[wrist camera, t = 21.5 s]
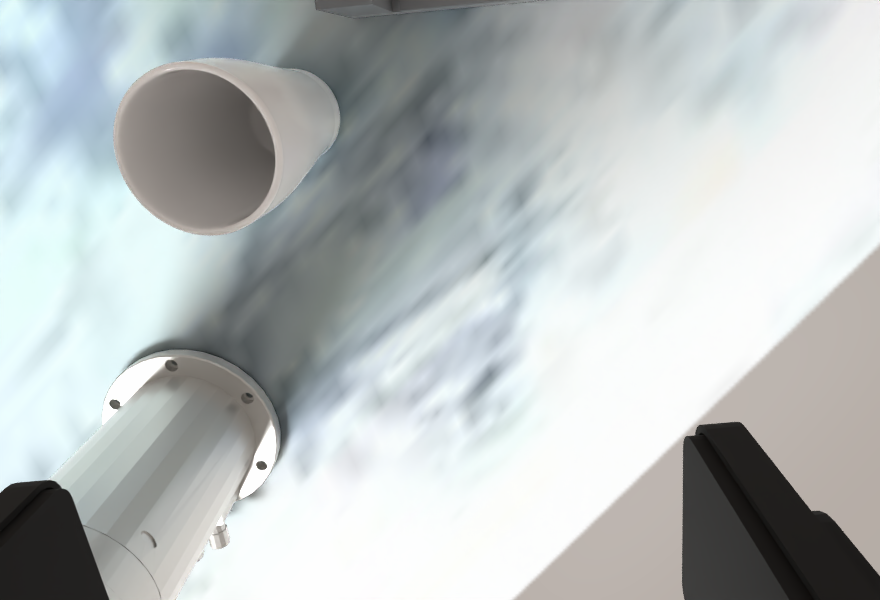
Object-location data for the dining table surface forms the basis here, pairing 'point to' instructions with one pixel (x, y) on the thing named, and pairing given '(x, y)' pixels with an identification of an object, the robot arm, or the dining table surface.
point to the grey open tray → (400, 6)
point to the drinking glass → (221, 140)
